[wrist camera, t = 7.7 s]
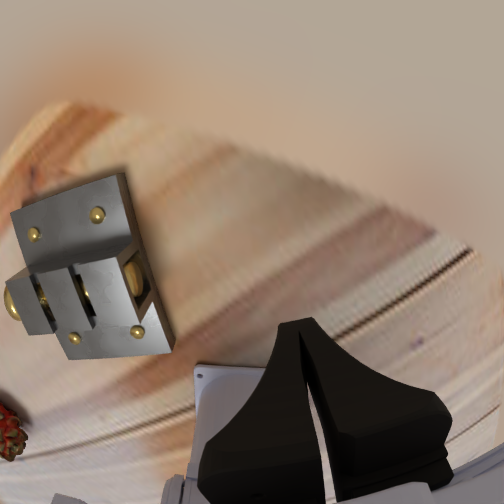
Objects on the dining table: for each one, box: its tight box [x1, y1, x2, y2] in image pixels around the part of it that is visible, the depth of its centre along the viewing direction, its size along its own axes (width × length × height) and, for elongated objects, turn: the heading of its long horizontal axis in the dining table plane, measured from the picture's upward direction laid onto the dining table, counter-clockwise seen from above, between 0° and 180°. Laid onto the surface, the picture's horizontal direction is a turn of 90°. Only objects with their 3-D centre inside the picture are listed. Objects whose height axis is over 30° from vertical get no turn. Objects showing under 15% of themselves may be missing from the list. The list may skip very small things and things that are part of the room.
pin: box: [4, 262, 143, 321], centre depth 19 cm, size 3×11×3 cm, turn 101°
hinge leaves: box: [5, 173, 175, 360], centre depth 20 cm, size 13×10×4 cm
